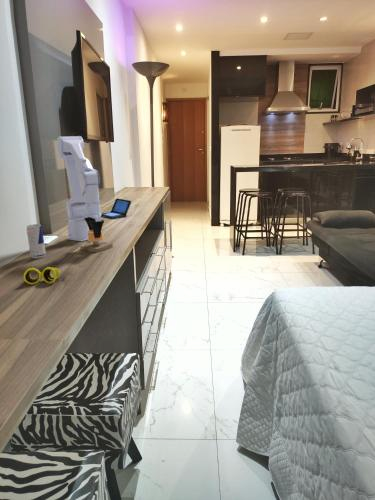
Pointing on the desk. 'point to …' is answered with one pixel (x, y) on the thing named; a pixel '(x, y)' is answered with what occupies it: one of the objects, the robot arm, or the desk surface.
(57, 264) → the desk surface
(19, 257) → the desk surface
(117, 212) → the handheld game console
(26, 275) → the opera glasses
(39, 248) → the energy drink
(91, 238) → the ring
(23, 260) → the desk surface
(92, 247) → the post stand
